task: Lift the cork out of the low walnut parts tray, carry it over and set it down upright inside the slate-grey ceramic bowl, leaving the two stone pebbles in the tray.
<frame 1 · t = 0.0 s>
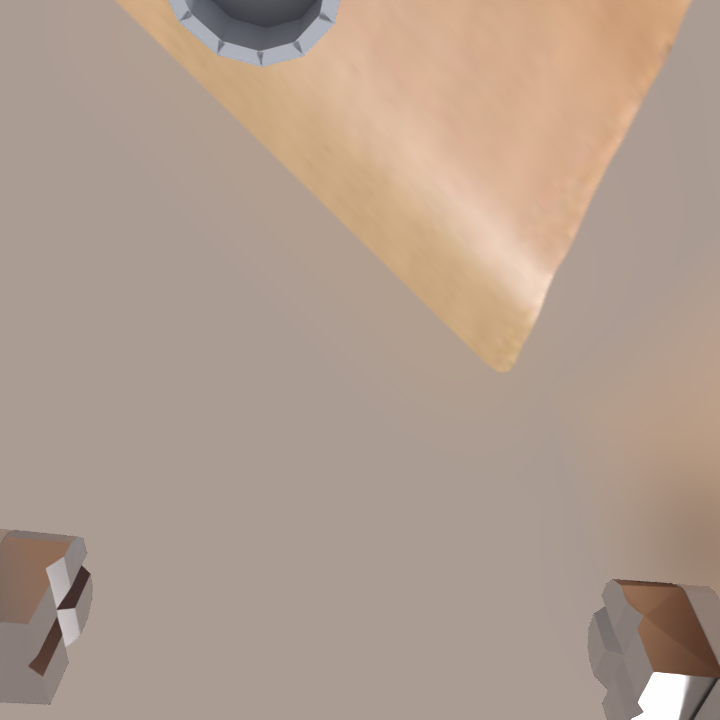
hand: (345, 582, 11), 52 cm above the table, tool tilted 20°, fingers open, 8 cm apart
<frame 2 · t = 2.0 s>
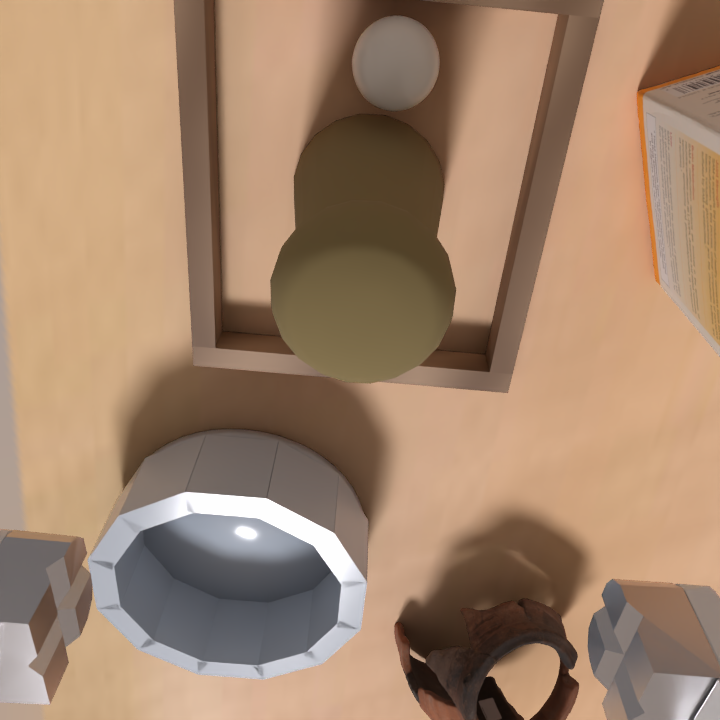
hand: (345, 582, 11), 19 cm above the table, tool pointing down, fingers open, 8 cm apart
bowl: (245, 523, 37), on the table
supplement box: (703, 171, 26), on the table
cork: (368, 190, 27), resting in tray
tray: (368, 192, 27), on the table
pebble b: (394, 58, 24), resting in tray
pottery mug: (477, 630, 42), on the table
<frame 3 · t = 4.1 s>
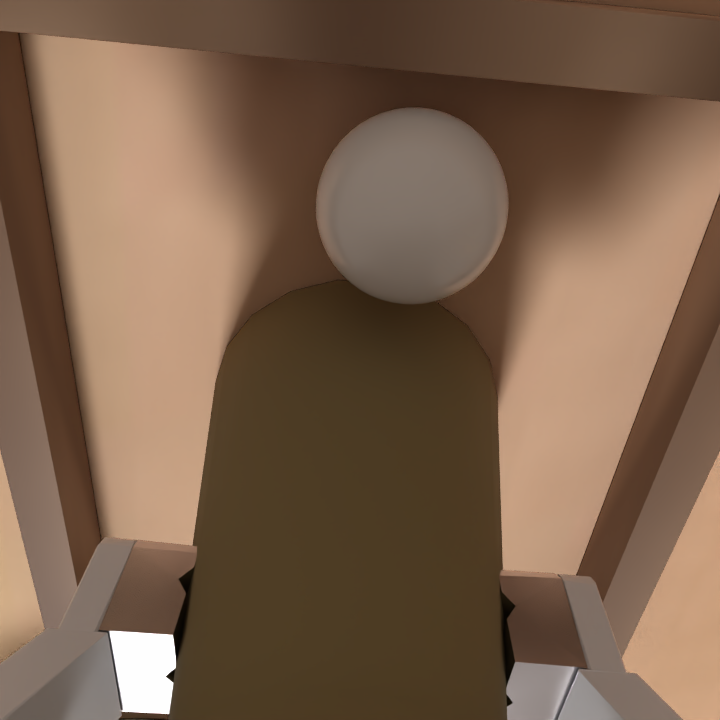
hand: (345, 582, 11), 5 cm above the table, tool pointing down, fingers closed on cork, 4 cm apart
cork: (355, 402, 15), resting in tray, touching gripper
tray: (355, 408, 14), on the table
pebble b: (407, 180, 12), resting in tray
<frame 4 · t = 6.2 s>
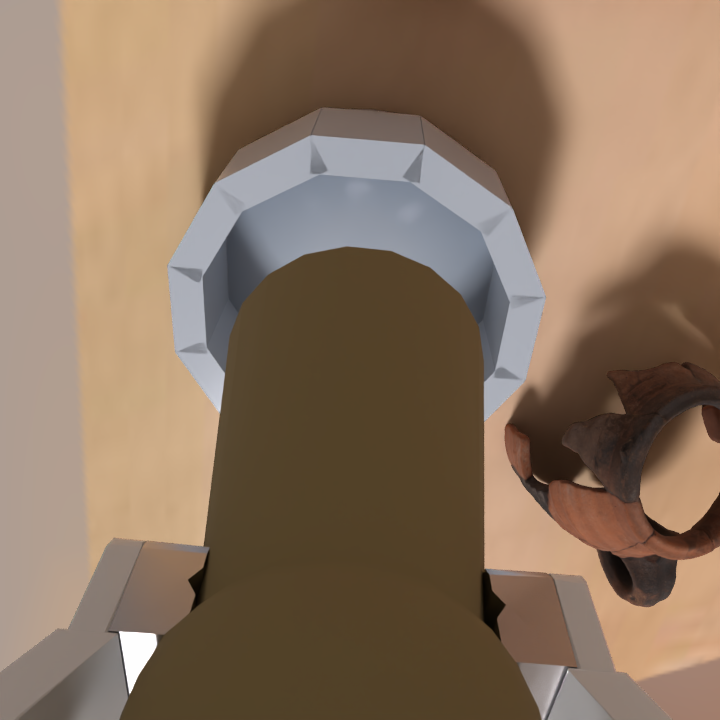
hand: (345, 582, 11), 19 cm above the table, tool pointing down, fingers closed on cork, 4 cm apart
bowl: (359, 269, 28), on the table
cork: (355, 361, 16), point 12 cm above the table, touching gripper
pottery mug: (608, 436, 33), on the table
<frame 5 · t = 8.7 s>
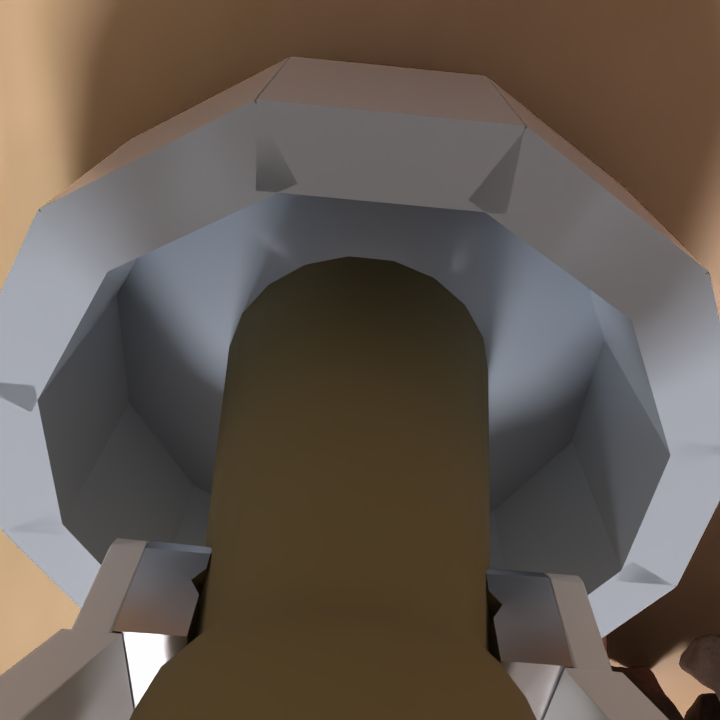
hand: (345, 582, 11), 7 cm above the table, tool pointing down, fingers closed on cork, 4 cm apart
bowl: (358, 354, 16), on the table
cork: (357, 372, 16), point 1 cm above the table, touching bowl, gripper
pottery mug: (718, 600, 21), on the table
when the fingers open (7 cm above the table, at t = 9.0 s): cork stays where it is, resting on bowl.
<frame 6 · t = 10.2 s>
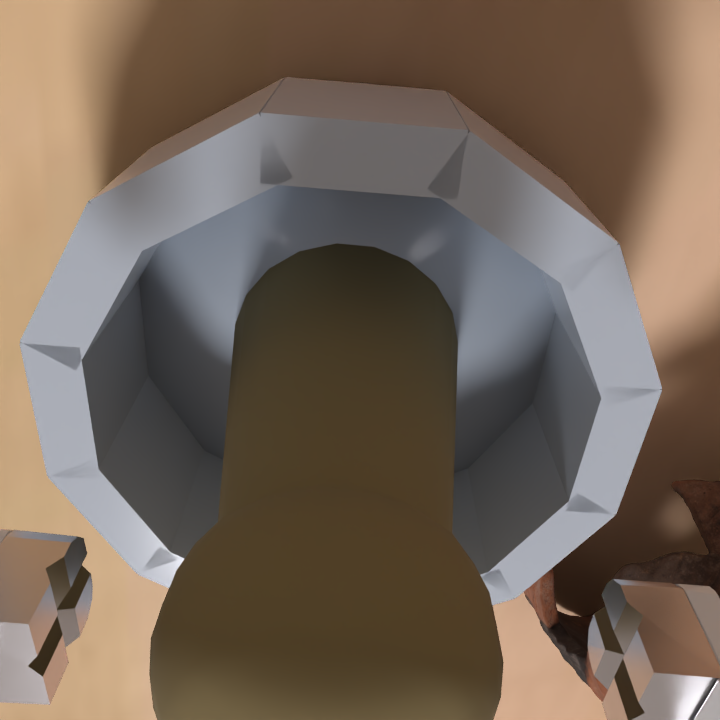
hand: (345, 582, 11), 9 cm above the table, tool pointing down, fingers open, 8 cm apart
bowl: (346, 330, 19), on the table
cork: (346, 345, 18), point 1 cm above the table, touching bowl
pottery mug: (658, 551, 23), on the table
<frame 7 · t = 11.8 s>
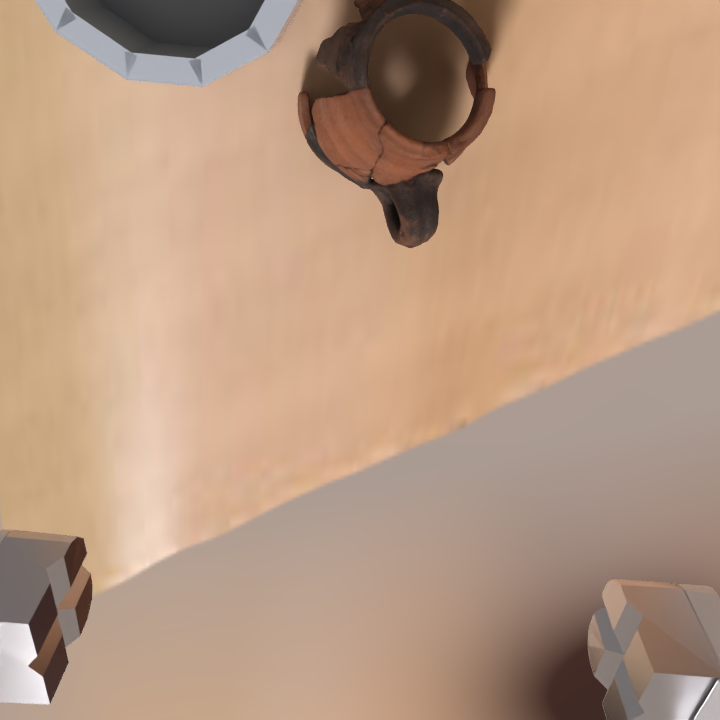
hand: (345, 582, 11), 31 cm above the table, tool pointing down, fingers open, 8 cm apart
pottery mug: (392, 113, 37), on the table
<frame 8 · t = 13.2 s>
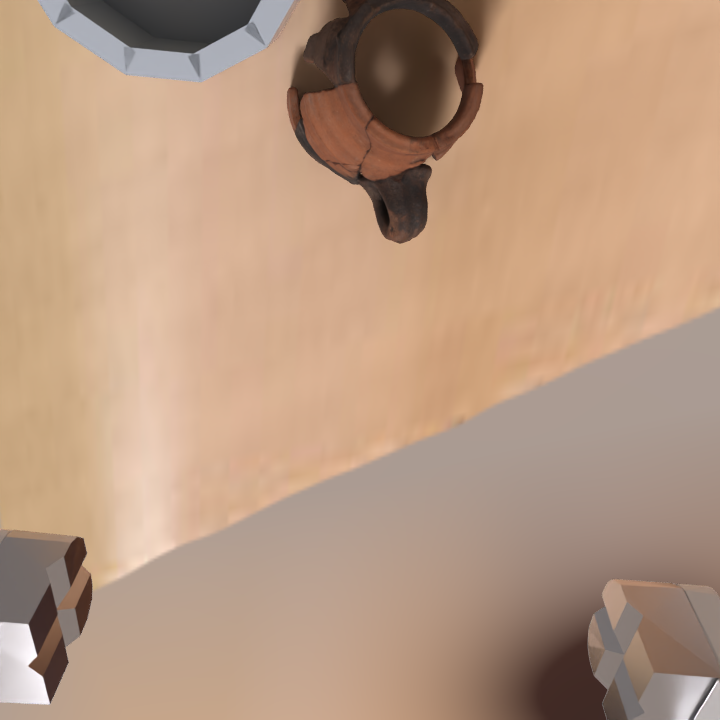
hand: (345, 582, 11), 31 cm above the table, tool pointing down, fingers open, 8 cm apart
pottery mug: (382, 109, 37), on the table
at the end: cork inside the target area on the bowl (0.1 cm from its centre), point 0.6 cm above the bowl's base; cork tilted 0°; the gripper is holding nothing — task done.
